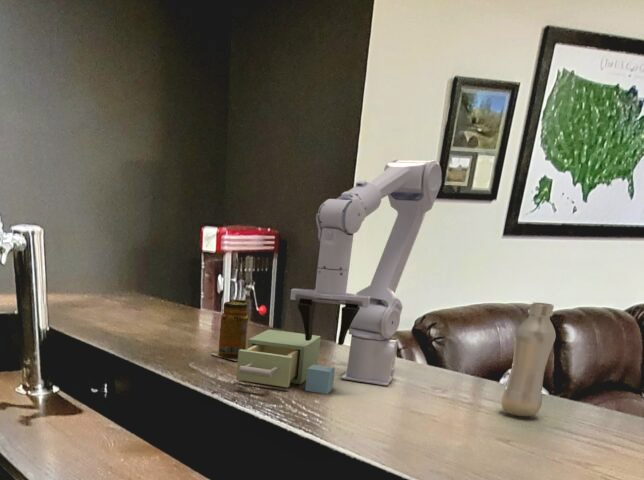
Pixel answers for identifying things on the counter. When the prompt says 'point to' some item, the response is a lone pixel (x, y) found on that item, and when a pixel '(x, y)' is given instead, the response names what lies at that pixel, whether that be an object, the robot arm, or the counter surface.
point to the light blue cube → (319, 379)
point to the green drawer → (268, 365)
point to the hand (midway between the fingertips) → (324, 342)
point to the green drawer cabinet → (292, 341)
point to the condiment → (232, 330)
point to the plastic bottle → (529, 361)
